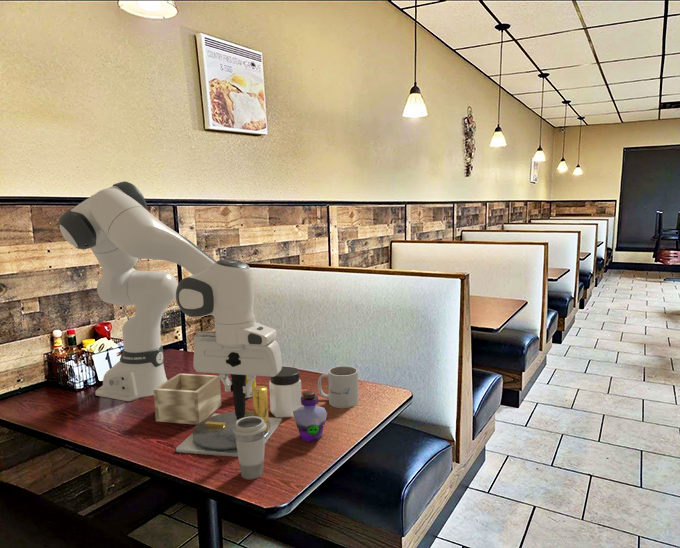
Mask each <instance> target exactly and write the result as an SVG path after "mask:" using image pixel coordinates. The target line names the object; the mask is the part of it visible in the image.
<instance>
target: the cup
mask: <svg viewBox="0 0 680 548" xmlns="http://www.w3.org/2000/svg"><path fill="white" fill-rule="evenodd" d="M266 427H267V425H266V423H265V422H264V420H263V419H262V418H261V417H257V416H249V417H244V418H241V419H239V420H238V421H236V423H235V426H234V428H233V432H234V433H235V434H236V445H237V453H238V457H237V458H238V463H239V467H240V475H241V478H243V479H245V480H255V479H258V478H260V477H262V475H264V461H265V445H266V443H265V433H264V430H265V429H266Z"/></svg>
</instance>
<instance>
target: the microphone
mask: <svg viewBox="0 0 680 548" xmlns="http://www.w3.org/2000/svg"><path fill="white" fill-rule="evenodd" d="M228 357H229V359H227V360H226V363H227V364H230V365H231V366H232V367H235V366H237V365H239V364H241V360H239V358H240V356H239V354H238V353H235V352H231V353H230V354H229V355H228ZM230 378H231V383H232V388H233V391H232V397H233V404H234V406H233V407H234V412H235V416H236V419H237V420H239V419H241V418H244V415H245V412H246V398H245V395H246V393H243V386H244V385H245V384H246V375H238V374H230Z"/></svg>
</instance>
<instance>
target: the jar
mask: <svg viewBox="0 0 680 548" xmlns="http://www.w3.org/2000/svg"><path fill="white" fill-rule="evenodd" d="M300 375H301V374H300V370H299V369H298V368H296V367H294V366H293V367H292V366H282V369H281V371H280V372H279V373H278V374H277V375H276V376H274V377H271V376H269V377H270V380H269V381H268V384H269V385H268V386H269V387H268V388H269V406H270V408H269V409H270V410H269V411H270V413H271V414H272V415H273V416H274V418H294V414H293V411H295V410H296V409H298V408H300V407H303V405H302V404H301V397H302V396H303V392H302V380H301V379H300Z"/></svg>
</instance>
